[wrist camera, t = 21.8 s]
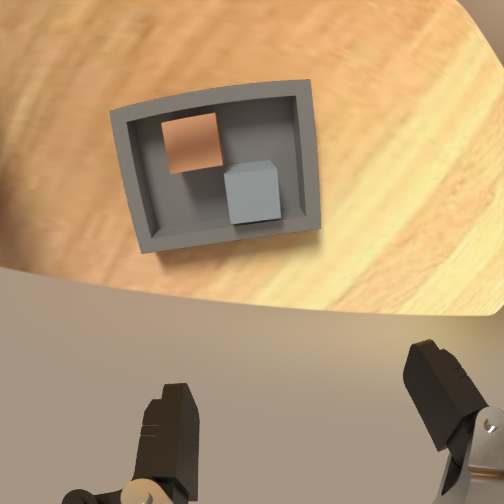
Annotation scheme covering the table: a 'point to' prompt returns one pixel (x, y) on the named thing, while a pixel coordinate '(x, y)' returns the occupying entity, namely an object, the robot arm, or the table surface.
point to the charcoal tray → (212, 178)
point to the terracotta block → (193, 143)
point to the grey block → (252, 191)
